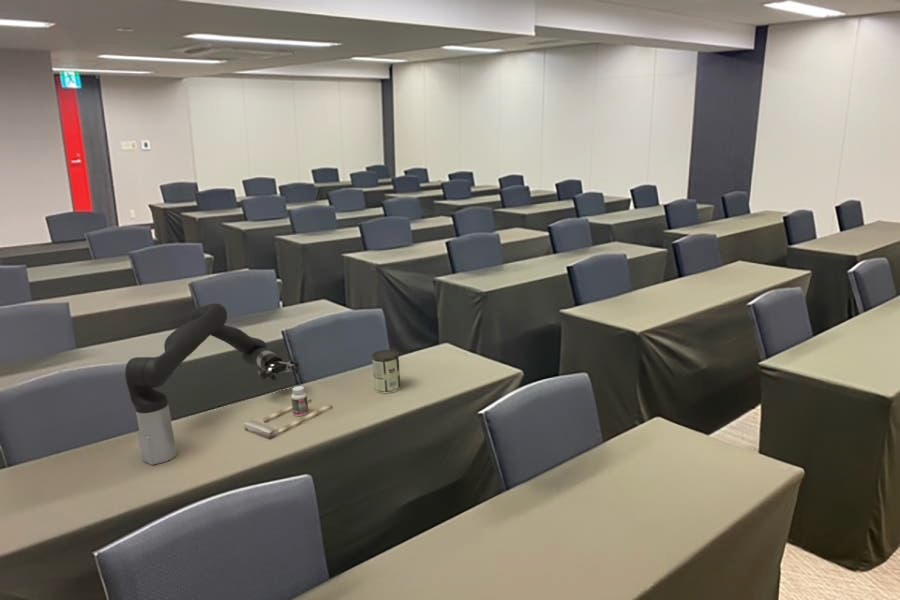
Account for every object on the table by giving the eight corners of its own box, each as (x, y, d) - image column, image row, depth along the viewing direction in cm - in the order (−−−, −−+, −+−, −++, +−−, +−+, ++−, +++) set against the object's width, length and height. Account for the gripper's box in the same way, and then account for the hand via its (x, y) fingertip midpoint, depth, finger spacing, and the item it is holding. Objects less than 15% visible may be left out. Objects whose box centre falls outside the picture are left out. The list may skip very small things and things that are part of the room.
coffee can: (385, 381, 251) (382, 348, 247) (406, 385, 246) (403, 351, 242) (368, 390, 243) (365, 356, 239) (390, 395, 237) (387, 360, 234)
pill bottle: (301, 417, 222) (298, 392, 220) (290, 415, 225) (286, 389, 222) (311, 411, 227) (308, 386, 224) (300, 409, 230) (297, 384, 227)
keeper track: (269, 439, 208) (268, 432, 207) (244, 429, 215) (243, 423, 215) (332, 408, 229) (331, 401, 228) (307, 400, 237) (307, 394, 236)
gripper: (250, 358, 240) (265, 370, 227) (285, 348, 248) (302, 360, 235) (252, 376, 242) (268, 389, 229) (288, 366, 250) (305, 378, 237)
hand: (285, 374), depth 232 cm, fingers open, 8 cm apart
